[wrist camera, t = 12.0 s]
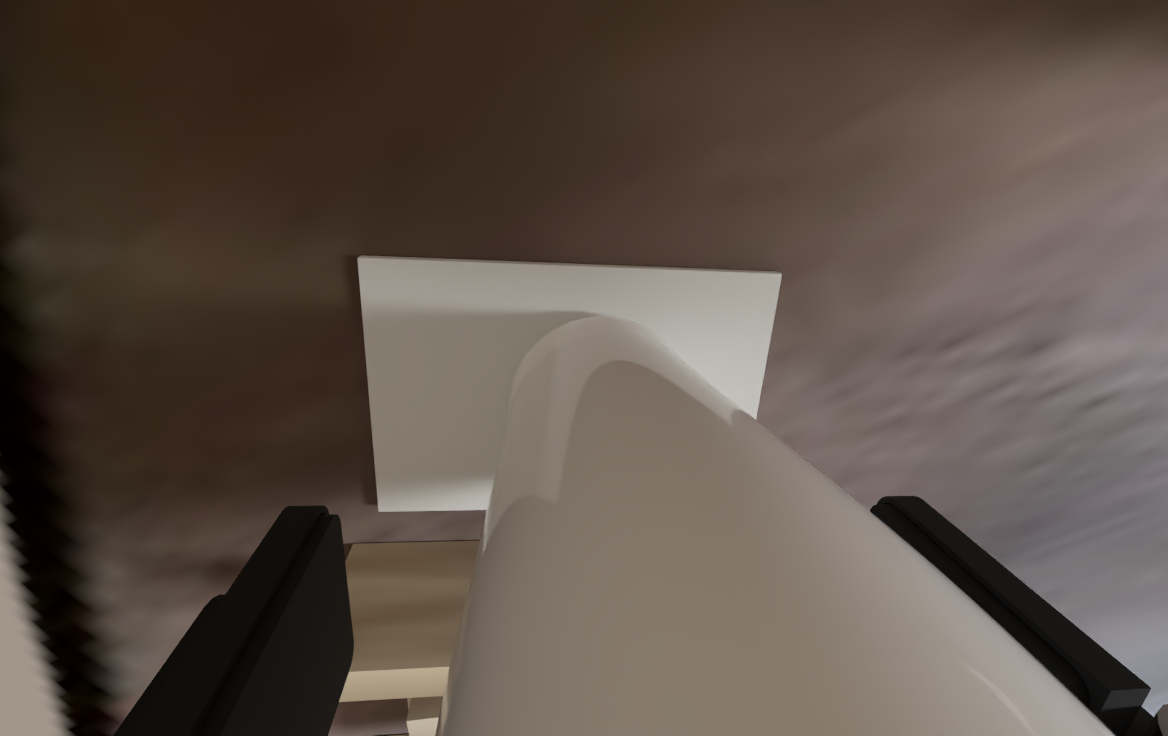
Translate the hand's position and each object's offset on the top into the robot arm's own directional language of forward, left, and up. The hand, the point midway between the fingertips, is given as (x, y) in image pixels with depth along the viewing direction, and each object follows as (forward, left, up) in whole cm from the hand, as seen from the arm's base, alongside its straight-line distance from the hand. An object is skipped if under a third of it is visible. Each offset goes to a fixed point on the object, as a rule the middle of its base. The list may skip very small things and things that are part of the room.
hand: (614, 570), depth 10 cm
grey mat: (0, 0, -8) cm, 8 cm away
